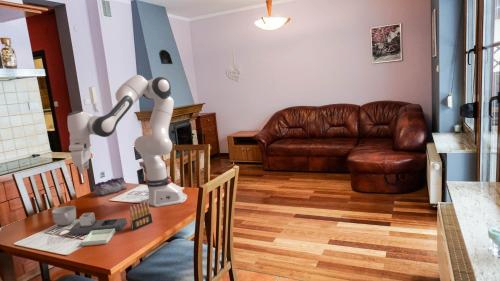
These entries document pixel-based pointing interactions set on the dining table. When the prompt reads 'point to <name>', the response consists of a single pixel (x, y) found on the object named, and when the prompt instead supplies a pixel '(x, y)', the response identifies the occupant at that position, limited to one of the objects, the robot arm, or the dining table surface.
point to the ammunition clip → (140, 216)
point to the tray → (98, 237)
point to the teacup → (64, 215)
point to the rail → (100, 226)
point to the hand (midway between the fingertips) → (84, 171)
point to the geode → (109, 186)
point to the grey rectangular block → (87, 220)
